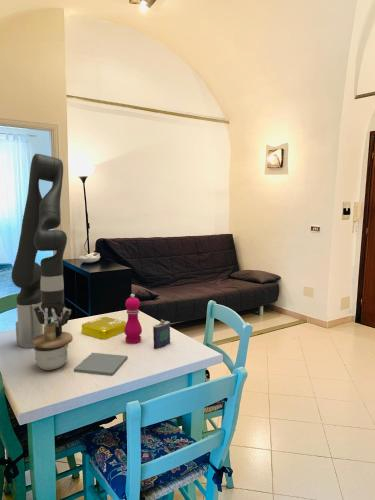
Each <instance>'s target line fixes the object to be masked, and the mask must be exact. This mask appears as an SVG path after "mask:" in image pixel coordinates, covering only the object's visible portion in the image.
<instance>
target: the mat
mask: <svg viewBox="0 0 375 500" xmlns="http://www.w3.org/2000/svg"><path fill="white" fill-rule="evenodd" d="M128 359H129V357H128V355H121V354H111V353H110V354H109V353H101V352H100V353H99V352H91V353H90V354H89V355H88V356H86V357H85V358H84V359H83V360H82V361H81V362H80V363H79V364H77V365H76V366H75V367H74V368H73V372H74V373H83V374H90V375H91V374H92V375H103V376H111V377H113V376H114V375H115V373H117V371H118V370H119V369H120V368H121V367H122V366H123V364H124V363H125V362H126V361H127V360H128Z"/></svg>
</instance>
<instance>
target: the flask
mask: <svg viewBox="0 0 375 500" xmlns="http://www.w3.org/2000/svg"><path fill="white" fill-rule="evenodd" d="M152 329H153V330H152V331H153V332H152V333H153V336H152V337H153V349H154V350H159V348H160V349H163V348H164V347H167V346H168V345H169V344H171V321H168V320H163V319H160V322H159V323H158V324H157V323H156V324H155V325H153V326H152Z"/></svg>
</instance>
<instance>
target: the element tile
mask: <svg viewBox="0 0 375 500" xmlns="http://www.w3.org/2000/svg"><path fill="white" fill-rule="evenodd" d="M126 323H127V321H125V320H121V319H117V318H112V317H108V316H102V317H98V318H96V319H93V320H90V321H87V322H85V323H82V324H81V326H80V327H81V334H82V335H85V336H88V337H91V338H95V339H98V340H102V341H105V340H109V339H111V338H113V337H116V336H118V335H121V334H122V333H123V334H124V329H125V326H126Z"/></svg>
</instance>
